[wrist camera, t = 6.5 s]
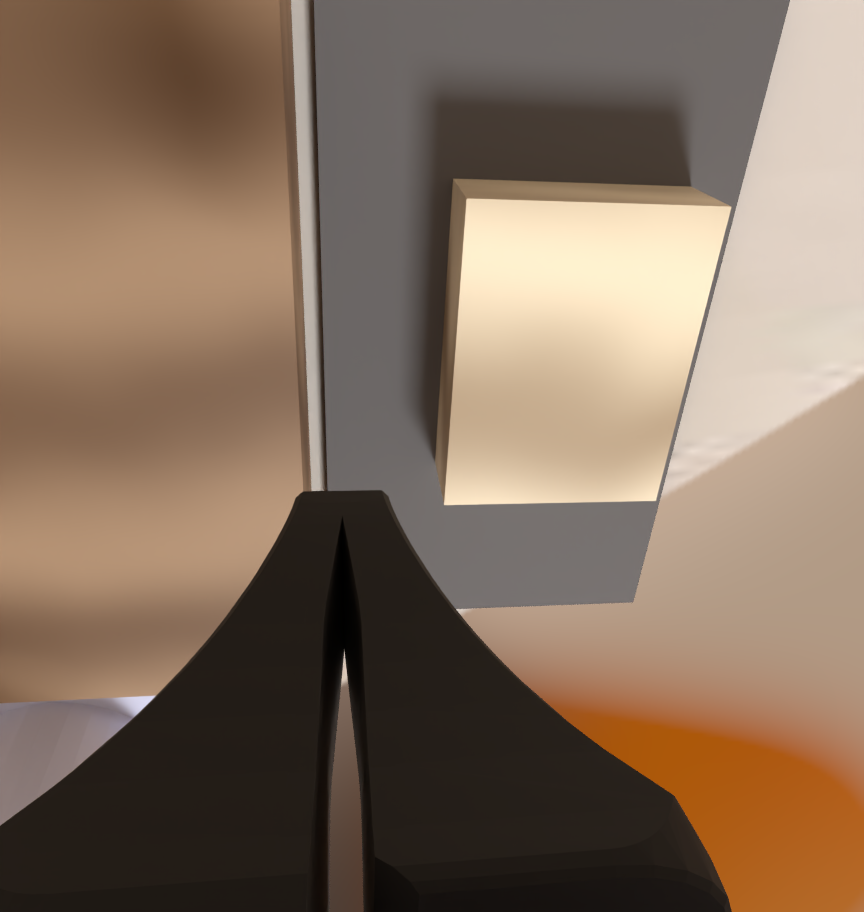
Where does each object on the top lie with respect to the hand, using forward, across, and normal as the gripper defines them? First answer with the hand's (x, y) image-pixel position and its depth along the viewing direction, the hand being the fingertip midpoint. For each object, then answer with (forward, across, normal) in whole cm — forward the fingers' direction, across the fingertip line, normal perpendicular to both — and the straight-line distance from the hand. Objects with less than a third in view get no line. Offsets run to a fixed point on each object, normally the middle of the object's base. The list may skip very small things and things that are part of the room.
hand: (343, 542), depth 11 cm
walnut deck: (+9, +6, +1) cm, 11 cm away
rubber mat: (+9, -5, +1) cm, 11 cm away
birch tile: (+7, -6, 0) cm, 9 cm away
